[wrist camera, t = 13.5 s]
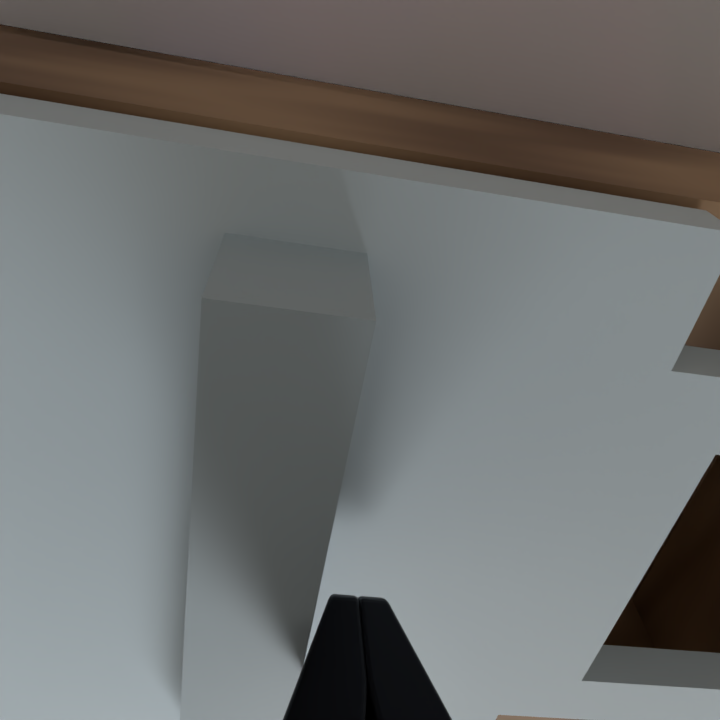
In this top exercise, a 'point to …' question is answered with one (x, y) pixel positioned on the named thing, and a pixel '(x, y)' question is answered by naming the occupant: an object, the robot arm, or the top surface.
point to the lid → (334, 422)
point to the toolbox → (440, 148)
